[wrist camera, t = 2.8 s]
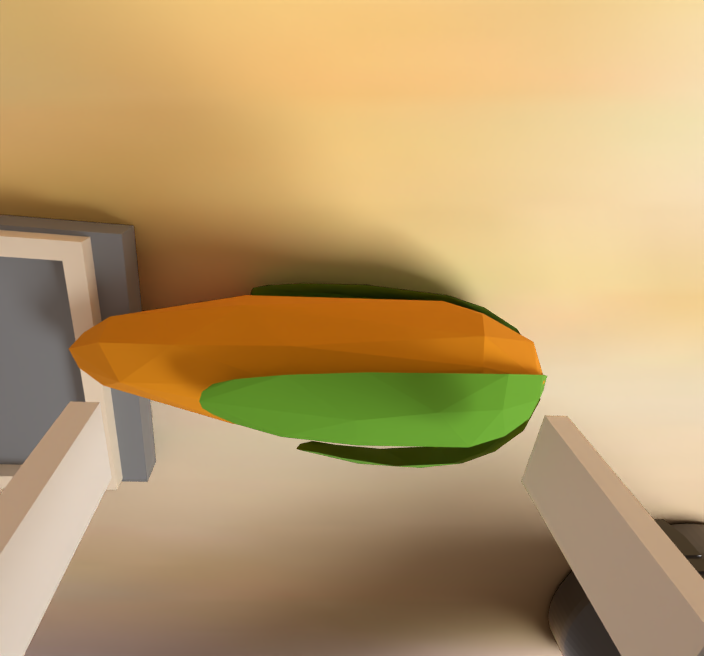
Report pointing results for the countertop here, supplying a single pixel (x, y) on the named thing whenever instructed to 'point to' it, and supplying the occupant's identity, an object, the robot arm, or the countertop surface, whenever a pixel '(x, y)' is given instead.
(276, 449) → the countertop surface
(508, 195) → the countertop surface
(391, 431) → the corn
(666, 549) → the robot arm
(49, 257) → the board
